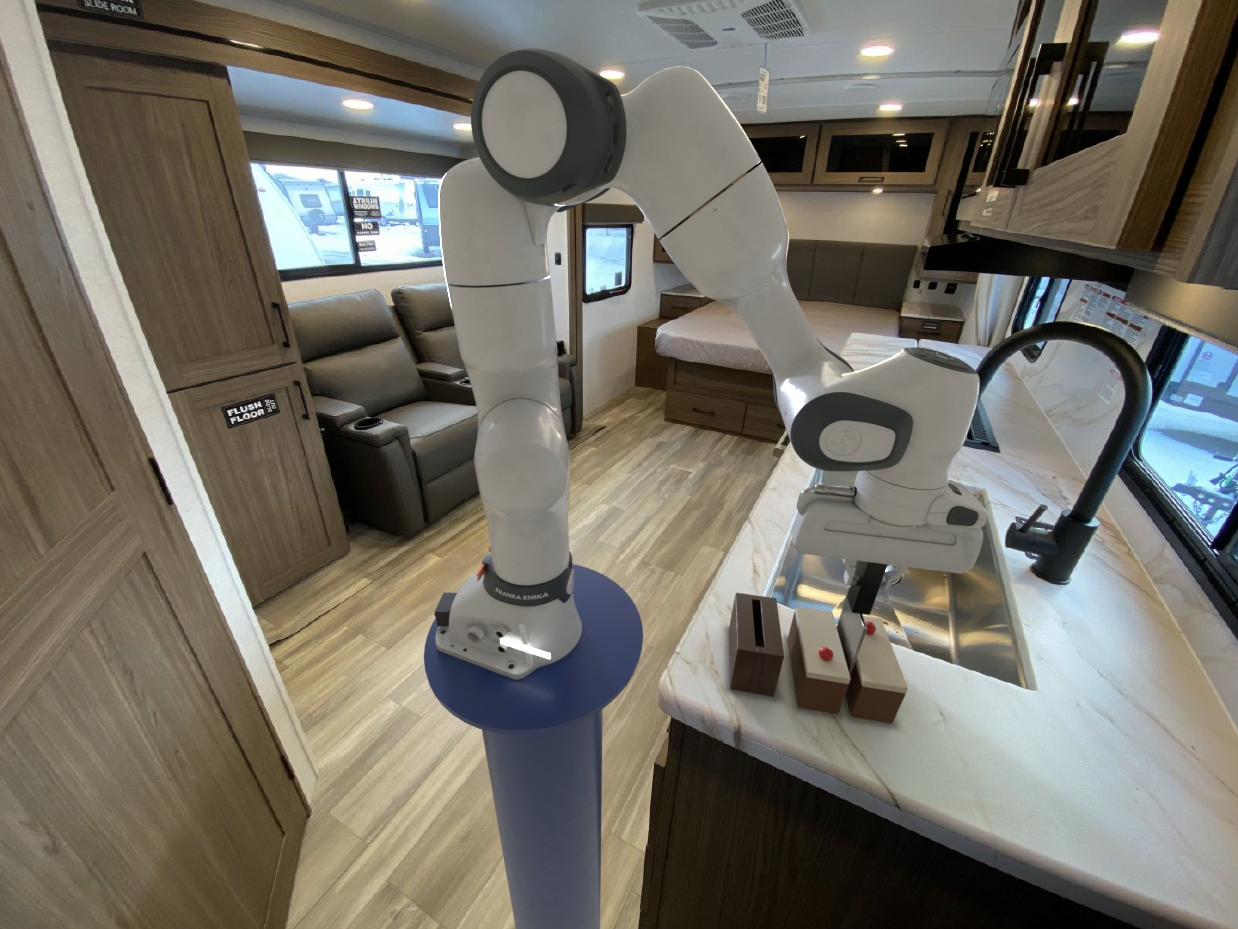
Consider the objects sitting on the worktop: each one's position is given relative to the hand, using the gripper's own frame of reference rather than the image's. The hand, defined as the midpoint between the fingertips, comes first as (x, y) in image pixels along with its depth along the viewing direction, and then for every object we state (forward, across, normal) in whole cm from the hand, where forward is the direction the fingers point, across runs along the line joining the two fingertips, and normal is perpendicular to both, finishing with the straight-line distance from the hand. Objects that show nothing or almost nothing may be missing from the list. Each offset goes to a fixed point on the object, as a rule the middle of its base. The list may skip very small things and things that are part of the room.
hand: (865, 584), depth 63 cm
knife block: (+17, -12, 0) cm, 21 cm away
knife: (+14, 0, 0) cm, 14 cm away
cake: (+17, 0, 0) cm, 17 cm away
